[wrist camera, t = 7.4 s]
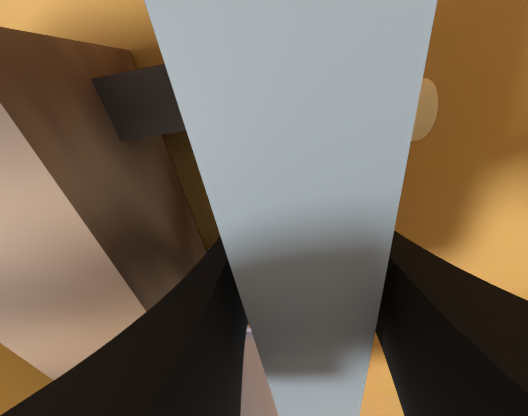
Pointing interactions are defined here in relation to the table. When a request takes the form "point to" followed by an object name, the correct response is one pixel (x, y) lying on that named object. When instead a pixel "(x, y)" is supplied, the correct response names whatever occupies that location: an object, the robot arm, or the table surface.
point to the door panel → (303, 167)
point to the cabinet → (85, 197)
